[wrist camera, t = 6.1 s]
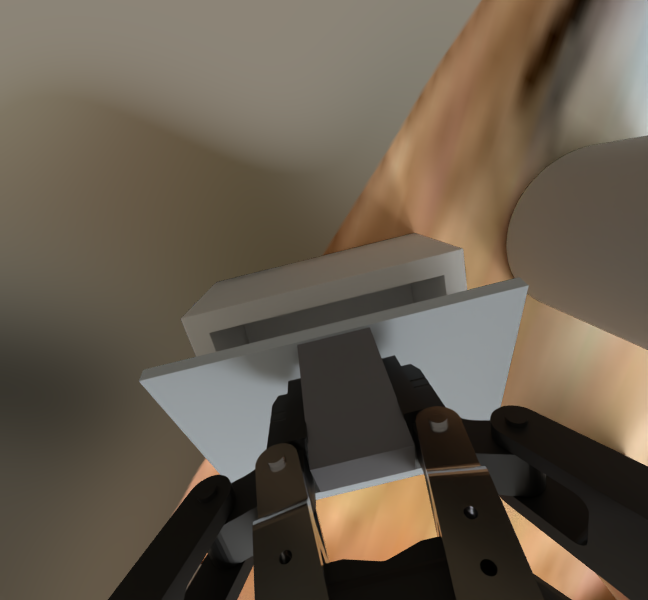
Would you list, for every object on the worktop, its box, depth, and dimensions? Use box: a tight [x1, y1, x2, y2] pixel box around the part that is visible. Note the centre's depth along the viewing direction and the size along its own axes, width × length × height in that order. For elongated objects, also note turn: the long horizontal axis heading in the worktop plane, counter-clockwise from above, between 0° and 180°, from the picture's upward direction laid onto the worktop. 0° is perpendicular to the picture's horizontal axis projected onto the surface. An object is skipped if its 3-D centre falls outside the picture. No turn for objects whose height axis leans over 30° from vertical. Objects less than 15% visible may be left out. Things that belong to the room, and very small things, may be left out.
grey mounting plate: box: [139, 277, 529, 500], centre depth 16 cm, size 16×14×6 cm
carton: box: [181, 233, 467, 357], centre depth 24 cm, size 16×14×8 cm
